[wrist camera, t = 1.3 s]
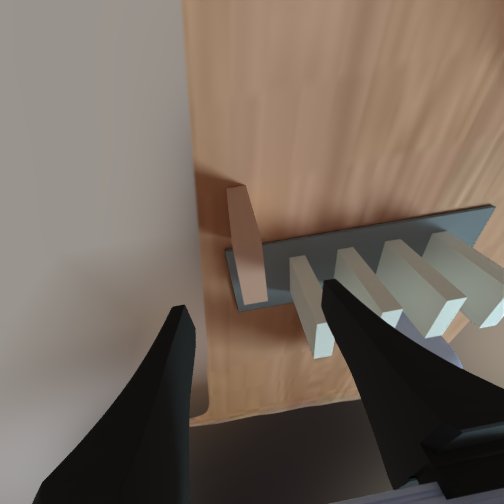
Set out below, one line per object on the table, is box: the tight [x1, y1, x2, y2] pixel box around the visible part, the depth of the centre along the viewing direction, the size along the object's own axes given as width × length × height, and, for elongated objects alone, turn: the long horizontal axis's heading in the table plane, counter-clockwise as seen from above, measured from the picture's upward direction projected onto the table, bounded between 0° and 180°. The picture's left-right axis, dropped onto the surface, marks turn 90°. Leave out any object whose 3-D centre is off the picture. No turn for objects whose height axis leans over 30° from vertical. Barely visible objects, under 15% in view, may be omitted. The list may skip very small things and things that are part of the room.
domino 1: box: [289, 255, 335, 359], centre depth 22 cm, size 2×5×8 cm, turn 6°
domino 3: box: [376, 239, 467, 338], centre depth 22 cm, size 2×5×8 cm, turn 6°
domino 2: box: [334, 247, 403, 328], centre depth 22 cm, size 2×5×8 cm, turn 7°
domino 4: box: [422, 231, 504, 328], centre depth 22 cm, size 2×5×8 cm, turn 6°
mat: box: [225, 205, 496, 312], centre depth 25 cm, size 27×9×1 cm, turn 96°
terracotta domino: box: [226, 185, 268, 305], centre depth 17 cm, size 2×5×8 cm, turn 7°
